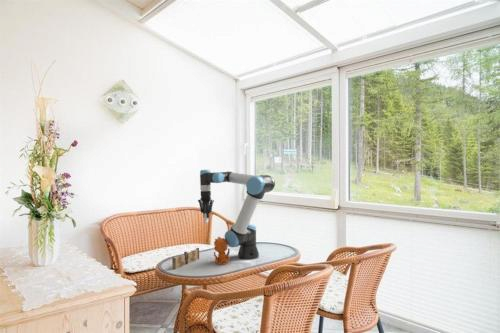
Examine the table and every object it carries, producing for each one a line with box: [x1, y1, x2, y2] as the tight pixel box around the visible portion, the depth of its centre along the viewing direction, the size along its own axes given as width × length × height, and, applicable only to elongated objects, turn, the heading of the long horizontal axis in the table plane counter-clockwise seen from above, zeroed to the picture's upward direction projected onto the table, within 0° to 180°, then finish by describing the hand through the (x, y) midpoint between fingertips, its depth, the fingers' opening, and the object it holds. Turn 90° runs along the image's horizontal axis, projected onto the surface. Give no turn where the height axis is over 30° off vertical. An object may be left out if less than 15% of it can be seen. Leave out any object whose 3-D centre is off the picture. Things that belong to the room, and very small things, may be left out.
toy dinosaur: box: [213, 236, 231, 265], centre depth 233 cm, size 11×11×18 cm
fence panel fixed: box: [171, 251, 188, 270], centre depth 227 cm, size 13×2×8 cm, turn 151°
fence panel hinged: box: [187, 247, 200, 264], centre depth 238 cm, size 12×2×8 cm, turn 151°
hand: (206, 222), depth 255 cm, fingers closed
